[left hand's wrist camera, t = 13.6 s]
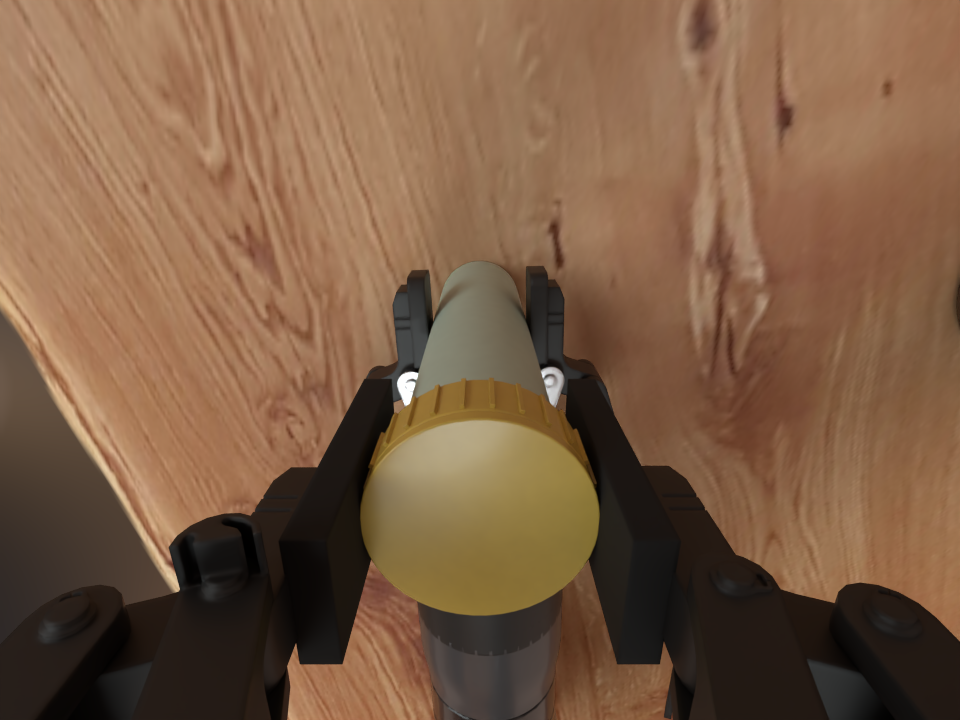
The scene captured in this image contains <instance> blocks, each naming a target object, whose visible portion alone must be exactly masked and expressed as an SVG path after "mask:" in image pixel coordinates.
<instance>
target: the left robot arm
mask: <svg viewBox="0 0 960 720" xmlns="http://www.w3.org/2000/svg"><path fill="white" fill-rule="evenodd" d="M393 414H394V404H393V390H392V379H364V381H363V383H362V385H361V387H360V388H359V390H358V392H357V394H356V396H355V398H354V400H353V402H352V403H351V405H350V407H349V409H348V411H347V413H346V415H345V417H344V419H343V420H342V422H341V424H340V426H339V428H338V430H337V432H336V434H335V435H334V437H333V439H332V441H331V443H330V445H329V447H328V449H327V450H326V452H325V454H324V456H323V458H322V460H321V462H320V464H319V466H318V467H291V468H290V469H289V470H287V471H286V472H285V473H283V474H282V475H281V476H279V477H278V478H276V479H275V480H274V481H273V482H272V484H271V485H270V487H269V489H268V490H267V492H266V493H265V495H264V498H263V499H261V501H260V502H259V504H258V505H257V507H256V509H255V512H253V513H252V515H251V516H249V515H245V514H242V513H229V514H221V515H217V516H213V517H209V518H206V519H204V520H202V521H200V522H197V523H195V524H193V525H191V526H190V527H188V528H187V529H186V530H184V531H183V532H182V533H180V534H179V535H178V536H177V537H176V538H175V539H174V541H173V542H172V544H171V545H170V546H169V550H170V554H171V557H172V561H173V565H174V568H175V572H176V576H177V579H178V583H179V587H180V591H179V592H176V593H173V594H170V595H166V596H163V597H158V598H155V599H150V600H146V601H142V602H137V603H133V604H129V605H125V602H124V599H123V596H122V594H121V593H120V592H119V591H118V590H117V589H116V588H114V587H110V586H104V585H95V586H88V587H82V588H79V589H76V590H73V591H70V592H68V593H65V594H62V595H60V596H58V597H56V598H55V599H53V600H51V601H49V602H47V603H46V604H44V605H42V606H41V607H40V608H38V609H37V610H36V611H35V612H33V613H32V614H31V615H30V616H29V617H27V618H26V619H25V620H24V621H23V622H22V623H21V624H20V625H19V626H18V627H17V628H16V629H15V630H14V631H13V632H12V633H11V634H10V635H9V636H8V637H7V638H6V639H5V640H4V641H3V642H2V643H1V644H0V720H287V716H288V705H289V695H290V681H289V674H288V669H287V665H288V662H289V660H290V657H291V654H292V652H293V649H294V647H295V644H296V645H297V650H298V656H299V662H300V664H343V660H344V657H345V653H346V649H347V646H348V642H349V638H350V635H351V631H352V627H353V624H354V620H355V616H356V613H357V609H358V605H359V602H360V598H361V594H362V591H363V587H364V583H365V580H366V576H367V572H368V569H369V565H370V561H371V558H370V556H369V554H368V551H367V549H366V547H365V544H364V541H363V537H362V531H361V521H360V504H361V499H362V495H363V491H364V490H363V487H364V484H365V481H366V478H367V476H368V473H369V470H370V468H368V466H369V463H370V461H371V458H372V455H373V453H374V450H375V447H376V444H377V442H378V439H379V436H380V434H381V432H383V433H385V432H386V430H387V428H388V427H389V425H390V422H391V419H392V416H393ZM565 416H566V419H567V421H568V422H569V424H570V425H571V427H572V429H573V430H574V429H577V430H578V433H579V435H580V438H581V441H582V444H583V446H584V449H585V452H586V455H587V457H588V460H589V463H590V466H591V469H592V471H593V474H594V477H595V480H596V482H597V486H596V488H595V489H596V492H597V496H598V500H599V505H600V518H599V528H598V536H597V540H596V544H595V546H594V549H593V551H592V553H591V555H590V557H589V563H590V566H591V570H592V574H593V577H594V581H595V585H596V588H597V592H598V596H599V599H600V603H601V607H602V610H603V614H604V617H605V621H606V625H607V628H608V632H609V636H610V639H611V643H612V647H613V650H614V654H615V658H616V661H617V664H660V660H661V654H662V649H663V643H664V642H665V645H666V648H667V650H668V653H669V655H670V658H671V661H672V663H673V669H672V674H671V680H670V685H669V690H668V696H667V701H666V707H665V714H664V717H665V718H669V719H671V715H673V720H960V641H959V640H958V639H957V638H956V637H955V636H954V635H953V634H952V633H951V632H950V631H949V630H948V629H947V628H946V627H945V626H944V625H943V624H942V623H941V622H940V621H939V620H938V619H937V618H936V617H935V616H934V615H932V614H931V613H930V612H929V611H927V610H926V609H925V608H924V607H922V606H921V605H920V604H919V603H917V602H915V601H913V600H912V599H910V598H908V597H906V596H904V595H903V594H901V593H899V592H896V591H893V590H891V589H888V588H885V587H882V586H879V585H874V584H866V583H855V584H849V585H846V586H845V587H843V588H842V589H841V590H840V591H839V592H838V595H837V598H836V601H835V603H832V602H827V601H823V600H819V599H815V598H810V597H806V596H802V595H798V594H794V593H791V592H788V591H784V590H781V589H780V588H779V586H778V585H777V583H776V581H775V580H774V578H773V577H772V576H771V575H770V574H769V573H768V572H767V571H765V570H764V569H763V568H762V567H761V566H760V565H758V564H756V563H754V562H752V561H750V560H748V559H746V558H744V557H741V556H738V555H736V554H735V553H734V551H733V550H732V548H731V547H730V545H729V544H728V542H727V541H726V539H725V538H724V536H723V534H722V533H721V531H720V530H719V528H718V527H717V525H716V524H715V522H714V521H713V519H712V518H711V516H710V515H709V513H708V511H707V510H705V507H704V505H703V504H702V502H701V501H700V499H699V498H698V497H696V493H695V492H694V490H693V488H692V487H691V485H690V484H689V482H688V481H687V479H686V478H684V477H683V476H682V475H680V474H679V473H678V472H676V471H675V470H674V469H672V468H671V467H669V466H641V464H640V462H639V461H638V459H637V457H636V455H635V453H634V451H633V449H632V447H631V445H630V444H629V442H628V440H627V438H626V436H625V434H624V432H623V430H622V429H621V427H620V425H619V423H618V421H617V419H616V417H615V415H614V413H613V412H612V410H611V408H610V406H609V404H608V402H607V400H606V398H605V397H604V395H603V393H602V391H601V389H600V387H599V385H598V383H597V382H596V380H595V379H568V385H567V400H566V415H565Z"/></svg>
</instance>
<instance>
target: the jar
mask: <svg viewBox="0 0 960 720" xmlns="http://www.w3.org/2000/svg"><path fill="white" fill-rule="evenodd" d="M462 378H466V381H467V380H489V378H494V381H501V382H505V383H509V384H513V385H516V383H519V384H521V387H522V388H525V389H527V390H530V391H531V392H533V393H535V394H537V395H540V394H543V395H544V396H545V399H546V401H548V402H549V403H550V401H549V397H548V394H547V390H546V387H545V383H544V380H543V377H542V373H541V370H540V366H539V363H538V360H537V356H536V353H535V349H534V346H533V342H532V339H531V336H530V332H529V329H528V325H527V322H526V318H525V315H524V312H523V308H522V305H521V301H520V298H519V295H518V291H517V288H516V285H515V283H514V281H513V279H512V277H511V276H510V275H509V274H508V273H507V272H506V271H505V270H504V269H503V268H501V267H500V266H498V265H496V264H493V263H490V262H485V261H474V262H470V263H466V264H464V265H462V266H460V267H458V268H457V269H456V270H455V271H453V272H452V273H451V275H450V276H449V277H448V279H447V280H446V282H445V285H444V287H443V291H442V294H441V297H440V301H439V304H438V308H437V311H436V315H435V318H434V321H433V325H432V328H431V332H430V335H429V338H428V342H427V345H426V349H425V352H424V356H423V359H422V362H421V366H420V369H419V373H418V376H417V379H416V383H415V386H414V390H413V393H412V397H411V398H413V397H414V396H416V398H418V397H419V396H421V395H423V394H425V393H427V392H428V391H430V390H433V389H434V387H435V385H438V384H439V385H440V386H443V385H446V384H451V383H455V382H459V381H461V379H462ZM410 401H411V400H410Z"/></svg>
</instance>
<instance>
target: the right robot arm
mask: <svg viewBox="0 0 960 720" xmlns="http://www.w3.org/2000/svg"><path fill="white" fill-rule="evenodd" d="M393 314H394V324H395V333H396V343H397V353H398V361H397V362H396V363H394V364H391V365H389V366H386V367H384V366H376V367H374V368H372V369H371V370H370V372H369V373H368V375H367V378H366V379H392V390H393V402H396V401H398V400H401V399H402V400H403V402H404V404H405V407H406V406H407V405H408V404H409V403H410V400H411V397H412V393H413V390H414V386H415V383H416V379H417V376H418V373H419V369H420V366H421V362H422V359H423V356H424V352H425V349H426V345H427V342H428V338H429V335H430V332H431V328H432V325H433V314H432V300H431V287H430V275H429V270H412V271H411V272H410V274H409V276H408V278H407V285H401V286H400V288H399V289H398V291H397V292H396V295H395V299H394V302H393ZM957 316H958V321H959V325H960V286H959V290H958V296H957ZM526 322H527V325H528V329H529V332H530V336H531V339H532V342H533V346H534V349H535V353H536V356H537V360H538V363H539V366H540V370H541V373H542V377H543V380H544V383H545V387H546V390H547V394H548V397H549V401H550V404H552V405H553V406H554V407H555V408H556V405H557V402H558V400H559V397H560V394H564V395H567V385H568V379H595V380H596V382H597V383H598V385H599V387H600V389H601V391H602V393H603V395H604V397H605V398H606V400H607V402H608V404H609V406H610V408H611V410H612V412H613V409H612V406H611V402H610V399H609V396H608V392H607V389H606V387H605V385H604V383H603V381H602V379H601V378H600V376H599V374H598V372H597V370H596V369H595V367H594V365H593V364H592V363H591V362H590V361H588V360H584V359H581V360H574V359H571V358H568V357H566V356H565V355H563V337H564V297H563V294H562V292H561V289H560V287H559V285H558V284H557V282H556V281H555V279H553V280H548V275H547V271H546V270H545V268H544V266H527V267H526ZM613 413H614V412H613ZM417 603H418V613H419V622H420V631H421V639H422V645H423V650H424V654H425V658H426V661H427V664H428V667H429V672H430V681H431V691H432V701H433V710H434V719H435V720H557V719H556V713H555V668H556V661H557V657H558V652H559V647H560V641H561V620H562V589H561V590H560V591H558V592H557V593H556V594H554V595H553V596H551V597H549V598H547V599H546V600H544V601H542V602H540V603H537V604H535V605H533V606H530V607H528V608H524V609H521V610H518V611H514V612H509V613H504V614H497V615H487V616H474V615H463V614H455V613H450V612H446V611H442V610H439V609H435V608H432V607H429V606H427V605H425V604H422V603H420V602H418V601H417Z"/></svg>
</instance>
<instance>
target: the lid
mask: <svg viewBox="0 0 960 720" xmlns="http://www.w3.org/2000/svg"><path fill="white" fill-rule="evenodd" d="M368 468H370V470H369V473H368V476H367V478H366V481H365V484H364V487H363V490H364V491H363V495H362V499H361V504H360V521H361V531H362V537H363V541H364V544H365V547H366V549H367V551H368V554H369V556H370V558H371V559H372V561H373V562H374V564H375V566H376V567H377V568H378V570H379V571H380V572H381V573H382V575H383V576H384V577H385V578H386V579H387V580H388V581H389V582H390V583H391V584H392V585H393V586H395V587H396V588H397V589H399V590H400V591H401V592H403V593H404V594H406V595H407V596H409V597H411V598H412V599H414V600H416V601H418V602H420V603H422V604H425V605H427V606H429V607H432V608H435V609H439V610H442V611H446V612H450V613H455V614H463V615H474V616H487V615H497V614H504V613H509V612H514V611H518V610H521V609H524V608H528V607H530V606H533V605H535V604H537V603H540V602H542V601H544V600H546V599H547V598H549V597H551V596H553V595H554V594H556V593H557V592H558V591H560V590H561V589H563V588H564V587H565V586H566V585H567V584H568V583H569V582H571V581H572V580H573V579H574V578H575V577H576V575H577V574H578V573H579V572H580V571H581V569H582V568H583V567H584V565H585V564H586V562H587V561H588V559H589V557H590V555H591V553H592V551H593V549H594V546H595V544H596V540H597V536H598V528H599V518H600V505H599V500H598V496H597V492H596V489H595V488H596V486H597V482H596V480H595V477H594V474H593V471H592V469H591V466H590V463H589V460H588V457H587V455H586V452H585V449H584V446H583V444H582V441H581V438H580V435H579V433H578V430H577V429H574V430H573V429H572V427H571V425H570V424H569V422H568V421H567V419H566V416H565V413H564V411H563V410H562V409H561V410H560V411H558V410H557V409H556V408H555V407H554V406H553V405H552V404H550V403H549V402H548V401H546V399H545V396H544V395H543V394H540V395H537V394H535V393H533V392H531V391H530V390H527V389H525V388H522V387H521V384H519V383H516V385H513V384H509V383H505V382H501V381H494V378H489V380H467V381H466V378H462V379H461V381H459V382H455V383H451V384H446V385H443V386H440V385H439V384H438V385H435V387H434V389H433V390H430V391H428V392H427V393H425V394H423V395H421V396H419V397H418V398H416V396H414V397H413V398H411V401H410V403H409V404H408V405H407V406H406V407H405V408H404V409H403V410H402V411H400V412H399V413H398V414H397V413H396V412H395V413H394V414H393V416H392V419H391V422H390V425H389V427H388V428H387V430H386V432H385V433H383V432H381V434H380V436H379V439H378V442H377V444H376V447H375V450H374V453H373V455H372V458H371V461H370V463H369V466H368Z"/></svg>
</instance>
